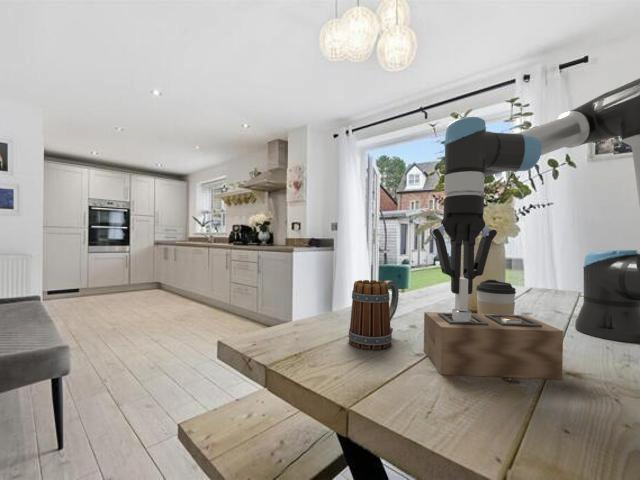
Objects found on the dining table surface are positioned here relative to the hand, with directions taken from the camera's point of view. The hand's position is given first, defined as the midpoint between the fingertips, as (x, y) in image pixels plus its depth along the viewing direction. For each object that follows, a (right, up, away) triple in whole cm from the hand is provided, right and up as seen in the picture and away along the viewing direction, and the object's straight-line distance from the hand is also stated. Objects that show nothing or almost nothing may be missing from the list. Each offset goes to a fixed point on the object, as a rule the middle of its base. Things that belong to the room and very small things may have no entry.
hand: (461, 309), depth 64 cm
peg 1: (0, -9, 0) cm, 9 cm away
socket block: (+5, -11, 0) cm, 12 cm away
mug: (-15, -11, +13) cm, 23 cm away
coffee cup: (+16, -12, +16) cm, 25 cm away
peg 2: (+10, -10, -1) cm, 14 cm away
